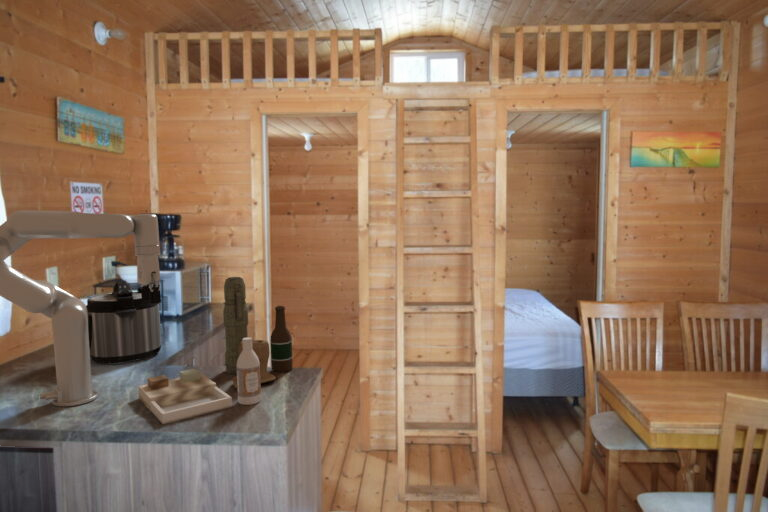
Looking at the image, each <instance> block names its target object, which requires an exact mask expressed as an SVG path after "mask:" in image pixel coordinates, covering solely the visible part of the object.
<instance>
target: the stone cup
mask: <svg viewBox="0 0 768 512" xmlns="http://www.w3.org/2000/svg"><path fill="white" fill-rule="evenodd" d="M252 349H253V351H254V352H255V353H256V355H257V357H258V359H259V363H260V385H261V384H265V383H269V382H272V381H274V380H276V378H277V377H276V376H275V375H274V374H273V373H271V372H269V371H268V368H267V367H268V363H269V360H270V359H269V358H270V355H271V351H270V344H269V342H268V340H265V339H254V340H253V339H252ZM242 351H243V344H242V342H241V343H240V345H239V356H240V354H241V352H242ZM232 383H233V387H234V389H237V375H236V376H234V377H232Z"/></svg>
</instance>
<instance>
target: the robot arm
mask: <svg viewBox="0 0 768 512" xmlns="http://www.w3.org/2000/svg"><path fill="white" fill-rule="evenodd" d="M158 220H159V219H158V216H157V214H154V213H139V214H124V213H89V212H79V211H73V210H72V211H69V210H67V211H66V210H36V209H35V210H33V209H32V210H31V209H29V210H27V209H26V210H25V209H24V210H23V209H21V210H15V211H13V212H11V213H10V214H9V215H8V217H7V219H6V221H4V222H3V223H2V224H1V225H0V297H2V298H3V299H5V300H7V301H8V302H11V303H13V304H15V305H16V306H17V307H19V308H21V309H23V310H24V311H26V312H28V313H32V314H42V315H44V316H46V317H47V318H50V319H51V330H52V340H53V351H54V353H53V354H54V362H55V377H56V379H55V380H56V386H55V387H54V389H51V391H48V392H41V393H39V400H40V401H41V400H45V401H47V400H51V399H52V400H51V404H52V405H53V406H55V407H73V406H79V405H83V404H87V403H89V402H92V401H93V400H96V399H97V398H98V397H99V392H98V391H97V390H94V389H93V381H92V365H91V357H90V348H89V333H88V311H87V307H86V304H85V303H84V301H83V300H81V299H79V298H78V297H76V296H75V295H73V294H71V293H69V292H68V291H66V290H64V289H62V288H61V287H58V286H57V285H55V284H54V283H51V282H49V281H46V280H43V279H34V278H31V277H29V276H28V275H26V274H24V273H23V272H21V271H20V270H17V269H15V268H13V267H12V266H10V265H8V264H7V263H6V261H5V260H7V259H8V258H9V257H10V256H11V255H12V254H14V253H15V252H16V251H18V250H19V249H20V248H22V247H23V246H24V245H26V244H27V243H28V242H29V241H30V240H32V239H76V240H77V239H84V238H85V239H86V238H89V239H91V238H93V239H94V238H96V239H97V238H99V239H100V238H101V239H105V238H107V239H108V238H113V239H115V238H116V239H119V238H120V239H121V238H126V237H128V236H133V239H134V251H135V255H134V256H135V257H137V259H136V273H137V275H136V278H137V279H136V281H137V284H139V285H140V287H141V296H142V300H150V303H151V304H155V303H159V304H160V303H161V302H162V298H161V285H160V284H161V272H160V271H161V270H160V262H159V257H158V256H159V255H161V248H160V233H159V221H158Z"/></svg>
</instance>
